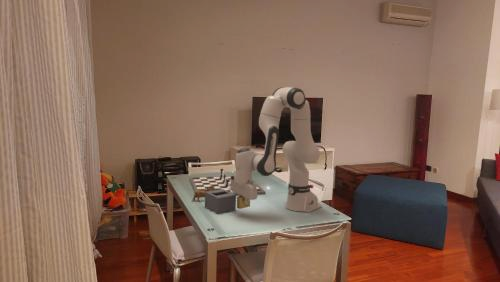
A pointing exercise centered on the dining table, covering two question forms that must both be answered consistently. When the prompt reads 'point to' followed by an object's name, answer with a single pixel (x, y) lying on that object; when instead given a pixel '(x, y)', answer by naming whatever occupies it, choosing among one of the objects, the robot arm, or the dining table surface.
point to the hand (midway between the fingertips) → (243, 203)
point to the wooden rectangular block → (242, 202)
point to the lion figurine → (202, 193)
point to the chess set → (217, 183)
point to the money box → (220, 201)
